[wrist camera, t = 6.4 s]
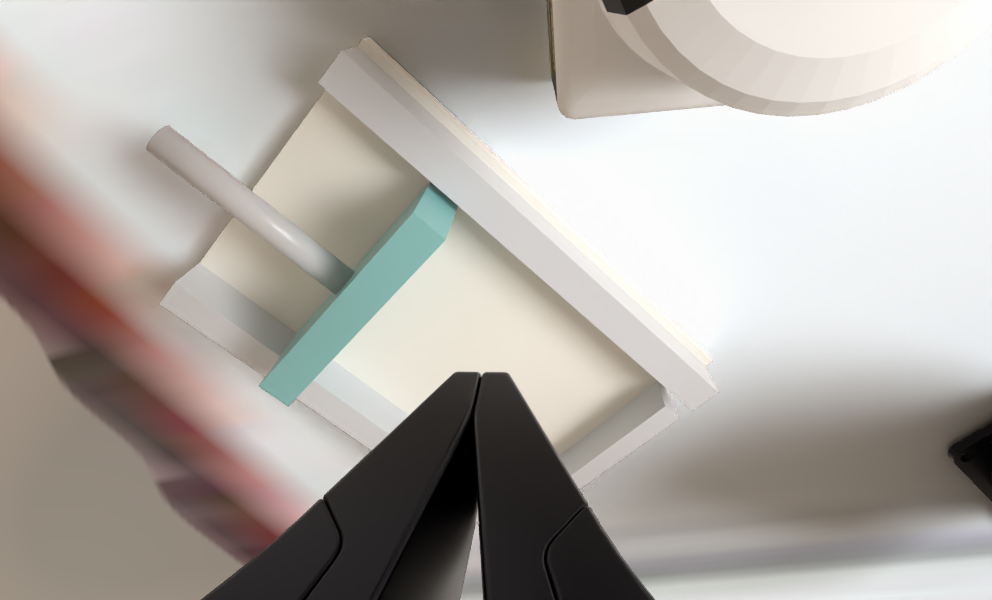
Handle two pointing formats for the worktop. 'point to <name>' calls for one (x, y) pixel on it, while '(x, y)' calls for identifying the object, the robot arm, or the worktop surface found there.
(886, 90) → the medicine bottle
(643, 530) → the worktop surface
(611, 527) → the worktop surface
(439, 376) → the lane
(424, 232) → the pusher
